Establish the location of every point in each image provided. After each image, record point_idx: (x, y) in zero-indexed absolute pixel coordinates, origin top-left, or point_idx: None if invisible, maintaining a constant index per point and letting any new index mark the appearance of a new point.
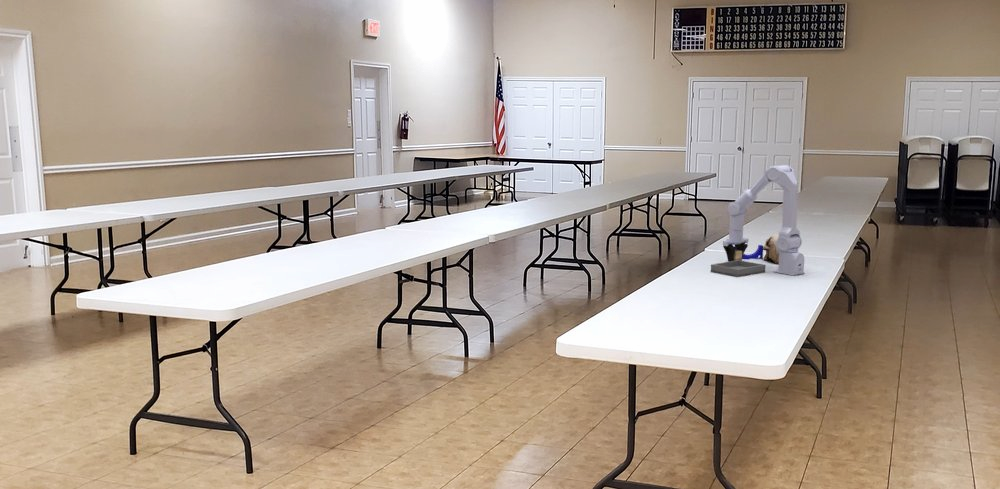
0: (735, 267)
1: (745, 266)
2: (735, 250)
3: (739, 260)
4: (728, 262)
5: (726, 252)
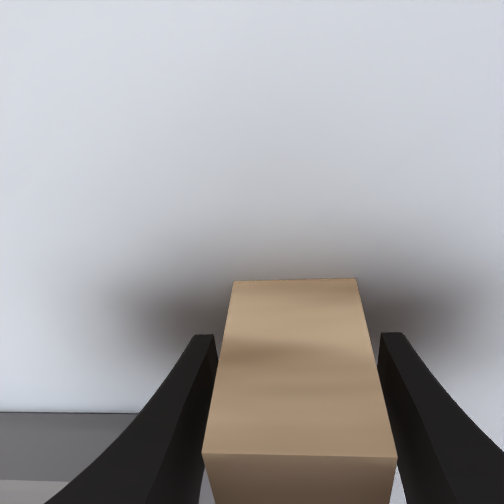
0: None
1: None
2: (318, 498)
3: None
4: (11, 487)
5: (121, 443)
